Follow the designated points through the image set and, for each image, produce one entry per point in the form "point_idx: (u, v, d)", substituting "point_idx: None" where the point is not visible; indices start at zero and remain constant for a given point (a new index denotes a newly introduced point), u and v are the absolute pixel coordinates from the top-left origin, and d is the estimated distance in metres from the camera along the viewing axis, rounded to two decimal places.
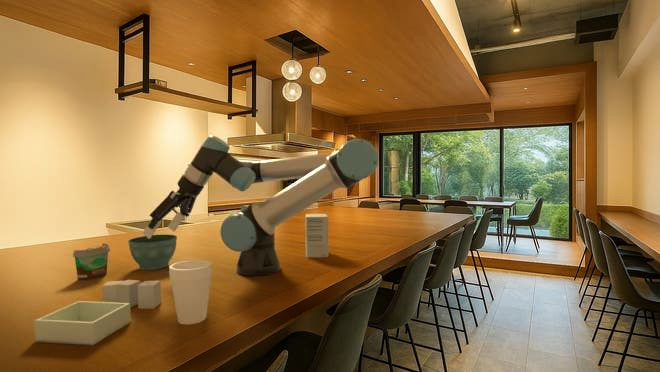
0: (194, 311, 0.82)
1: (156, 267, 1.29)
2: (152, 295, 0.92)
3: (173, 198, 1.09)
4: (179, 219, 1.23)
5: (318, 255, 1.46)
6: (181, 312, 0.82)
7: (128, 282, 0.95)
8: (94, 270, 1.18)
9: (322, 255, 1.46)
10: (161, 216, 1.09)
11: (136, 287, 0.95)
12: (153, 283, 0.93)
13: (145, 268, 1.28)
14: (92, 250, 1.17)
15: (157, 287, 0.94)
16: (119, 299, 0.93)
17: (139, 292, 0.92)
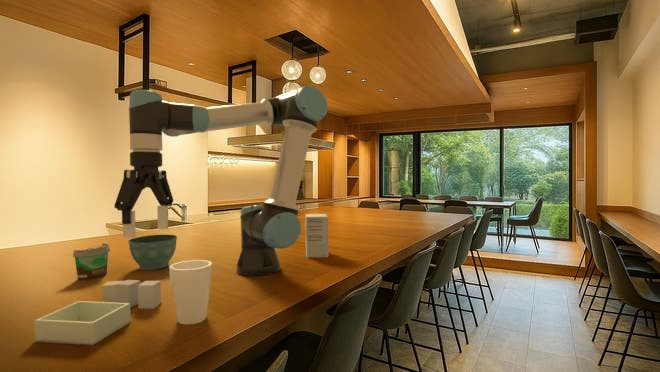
0: (194, 311, 0.82)
1: (156, 267, 1.29)
2: (152, 295, 0.92)
3: (130, 176, 0.86)
4: (164, 212, 1.00)
5: (318, 255, 1.46)
6: (181, 312, 0.82)
7: (128, 282, 0.95)
8: (94, 270, 1.18)
9: (322, 255, 1.46)
10: (130, 203, 0.86)
11: (136, 287, 0.95)
12: (153, 283, 0.93)
13: (145, 268, 1.28)
14: (92, 250, 1.17)
15: (157, 287, 0.94)
16: (119, 299, 0.93)
17: (139, 292, 0.92)
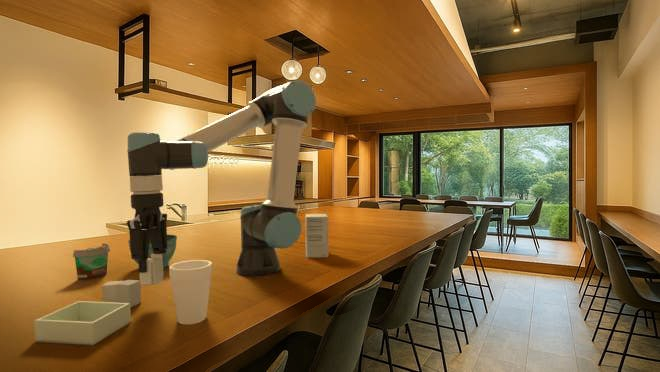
0: (194, 311, 0.82)
1: None
2: (153, 272, 0.92)
3: (135, 227, 0.87)
4: None
5: (318, 255, 1.46)
6: (181, 312, 0.82)
7: (128, 282, 0.95)
8: (94, 270, 1.18)
9: (322, 255, 1.46)
10: (144, 253, 0.90)
11: (136, 287, 0.95)
12: (154, 260, 0.93)
13: None
14: (92, 250, 1.17)
15: (158, 265, 0.94)
16: (119, 299, 0.93)
17: None
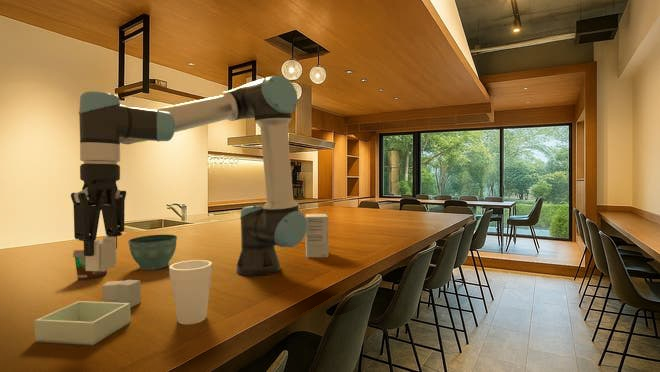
0: (194, 311, 0.82)
1: (156, 267, 1.29)
2: (102, 256, 0.78)
3: (80, 201, 0.74)
4: None
5: (318, 255, 1.46)
6: (181, 312, 0.82)
7: (128, 282, 0.95)
8: None
9: (322, 255, 1.46)
10: (91, 233, 0.76)
11: (136, 287, 0.95)
12: (105, 242, 0.80)
13: (145, 268, 1.28)
14: None
15: (110, 248, 0.81)
16: (119, 299, 0.93)
17: None
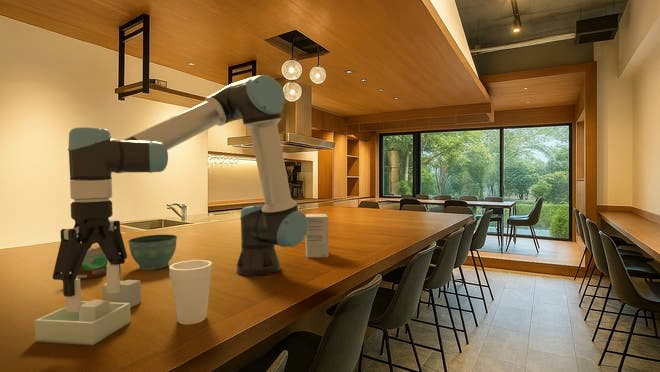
0: (194, 311, 0.82)
1: (156, 267, 1.29)
2: (94, 319, 0.76)
3: (69, 237, 0.71)
4: (114, 272, 0.83)
5: (318, 255, 1.46)
6: (181, 312, 0.82)
7: (128, 282, 0.95)
8: (94, 270, 1.18)
9: (322, 255, 1.46)
10: (72, 271, 0.71)
11: (136, 287, 0.95)
12: (97, 304, 0.77)
13: (145, 268, 1.28)
14: (92, 250, 1.17)
15: (103, 309, 0.78)
16: (119, 299, 0.93)
17: (80, 314, 0.77)
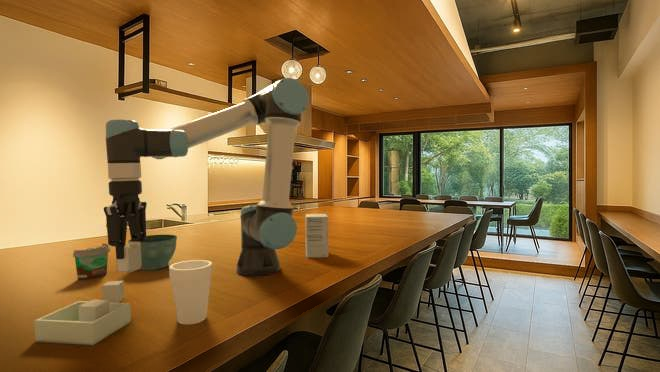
0: (194, 311, 0.82)
1: (156, 267, 1.29)
2: (94, 319, 0.76)
3: (112, 213, 0.88)
4: None
5: (318, 255, 1.46)
6: (181, 312, 0.82)
7: (128, 247, 0.94)
8: (94, 270, 1.18)
9: (322, 255, 1.46)
10: (121, 240, 0.91)
11: (136, 252, 0.95)
12: (97, 304, 0.77)
13: (145, 268, 1.28)
14: (92, 250, 1.17)
15: (103, 309, 0.78)
16: None
17: (80, 314, 0.77)
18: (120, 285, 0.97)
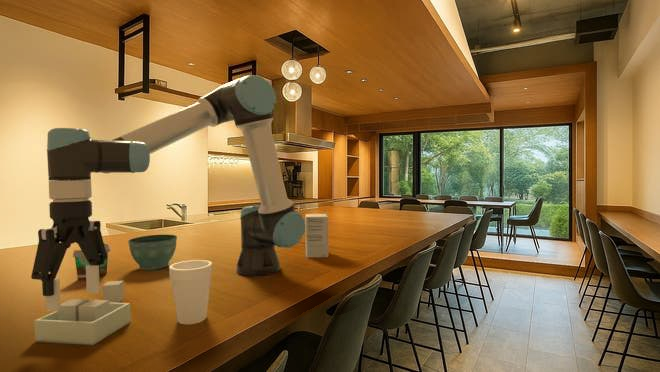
0: (194, 311, 0.82)
1: (156, 267, 1.29)
2: (94, 319, 0.76)
3: (47, 238, 0.72)
4: (93, 273, 0.83)
5: (318, 255, 1.46)
6: (181, 312, 0.82)
7: (73, 302, 0.79)
8: None
9: (322, 255, 1.46)
10: (51, 271, 0.72)
11: None
12: (97, 304, 0.77)
13: (145, 268, 1.28)
14: None
15: (103, 309, 0.78)
16: None
17: (80, 314, 0.77)
18: (120, 285, 0.97)
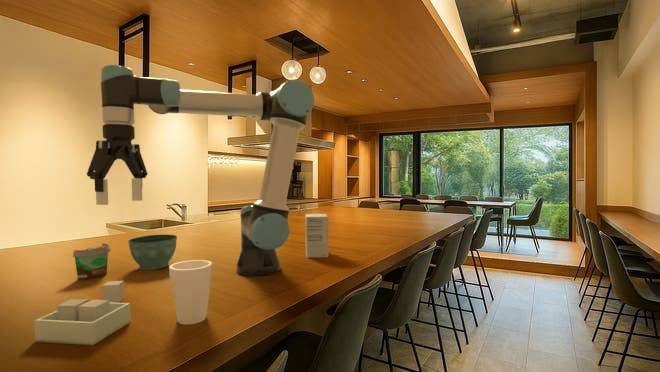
0: (194, 311, 0.82)
1: (156, 267, 1.29)
2: (94, 319, 0.76)
3: (102, 146, 0.91)
4: (138, 184, 1.04)
5: (318, 255, 1.46)
6: (181, 312, 0.82)
7: (73, 302, 0.79)
8: (94, 270, 1.18)
9: (322, 255, 1.46)
10: (102, 172, 0.90)
11: None
12: (97, 304, 0.77)
13: (145, 268, 1.28)
14: (92, 250, 1.17)
15: (103, 309, 0.78)
16: None
17: (80, 314, 0.77)
18: (120, 285, 0.97)
